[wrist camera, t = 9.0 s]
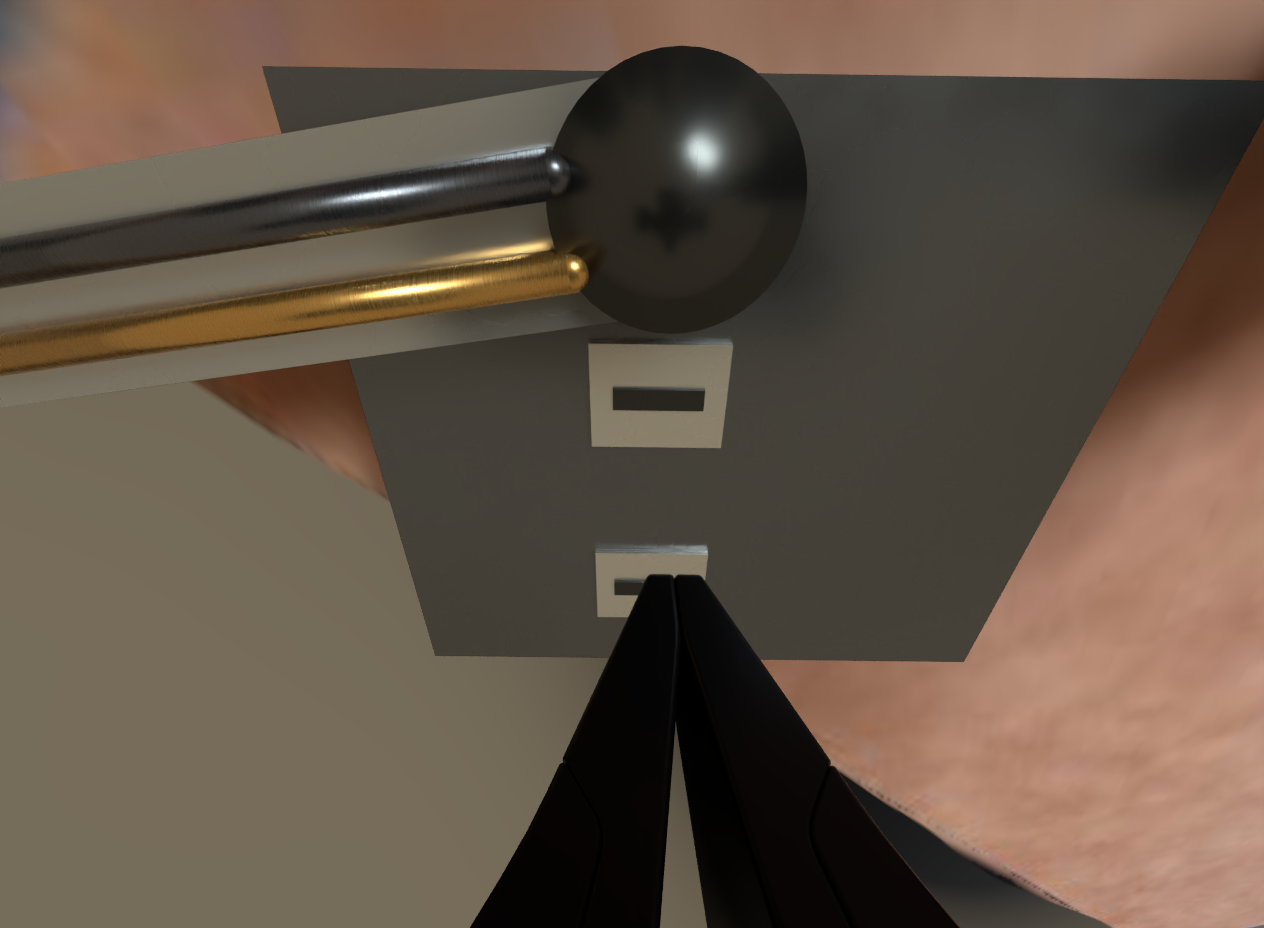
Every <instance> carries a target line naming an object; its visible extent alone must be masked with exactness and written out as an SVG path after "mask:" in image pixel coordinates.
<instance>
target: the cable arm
mask: <svg viewBox="0 0 1264 928" xmlns="http://www.w3.org/2000/svg"><path fill="white" fill-rule="evenodd" d="M806 198H807V167H806V161H805V154H804V149H803V145H802V142H801V139H800V135H799V132H798V129H797V127H796V125H795V123H794V120H793V118H792V116H791V113H790V112H789V110H788V109H787V107H786V105H785V104H784V102H783V101H782V99H781V97H780V96H779V95H778V94H777V93H776V91H775V90H774V89H773V88H772V87H771V85H770V84H769V83H768V82H767V81H766V80H765V79H764V78H762V77H761V76H760V75H759V74H758V73H757V72H756V71H754V70H753V69H752V68H750V67H749V66H747V65H745V64H744V63H742V62H741V61H739V60H737V59H735V58H733V57H731V56H728V55H726V54H723V53H721V52H718V51H714V50H710V49H706V48H702V47H691V46H673V47H663V48H658V49H654V50H650V51H647V52H643V53H640V54H638V55H636V56H633V57H631V58H629V59H627V60H624V61H623V62H621V63H619V64H618V65H616V66H615V67H613V68H612V69H610V70H608V71H607V72H606V73H604V74H603V75H602V76H601V77H599V78H594V79H588V80H582V81H577V82H571V83H566V84H560V85H554V86H549V87H543V88H537V89H532V90H526V91H520V92H515V93H509V94H504V95H498V96H492V97H487V98H481V99H475V100H470V101H464V102H458V103H453V104H447V105H442V106H436V107H430V108H425V109H419V110H413V111H408V112H402V113H396V114H391V115H385V116H380V117H374V118H368V119H363V120H357V121H351V122H346V123H340V124H334V125H329V126H323V127H317V128H312V129H306V130H301V131H295V132H289V133H284V134H278V135H272V136H267V137H261V138H255V139H250V140H244V141H239V142H233V143H227V144H222V145H216V146H210V147H205V148H199V149H193V150H188V151H182V152H177V153H171V154H165V155H160V156H154V157H148V158H143V159H137V160H131V161H126V162H120V163H115V164H109V165H103V166H98V167H92V168H86V169H81V170H75V171H69V172H64V173H58V174H53V175H47V176H41V177H36V178H30V179H24V180H19V181H13V182H7V183H2V184H0V408H1V407H9V406H17V405H23V404H31V403H37V402H45V401H51V400H60V399H66V398H74V397H81V396H88V395H96V394H103V393H110V392H117V391H124V390H131V389H139V388H145V387H153V386H160V385H167V384H174V383H182V382H189V381H196V380H203V379H210V378H218V377H225V376H232V375H239V374H246V373H253V372H261V371H268V370H275V369H282V368H289V367H297V366H304V365H311V364H318V363H325V362H332V361H340V360H347V359H354V358H361V357H368V356H376V355H383V354H390V353H397V352H404V351H411V350H419V349H426V348H433V347H440V346H447V345H455V344H462V343H469V342H476V341H483V340H490V339H498V338H505V337H512V336H519V335H526V334H534V333H541V332H548V331H555V330H562V329H569V328H577V327H584V326H591V325H598V324H605V323H612V322H621V323H623V324H625V325H627V326H630V327H633V328H636V329H640V330H643V331H648V332H654V333H665V334H677V333H688V332H693V331H698V330H703V329H706V328H709V327H712V326H715V325H717V324H720V323H722V322H724V321H726V320H728V319H730V318H732V317H733V316H735V315H737V314H738V313H740V312H741V311H743V310H745V309H746V308H747V307H748V306H750V305H751V304H752V303H753V302H754V301H756V300H757V299H758V298H759V297H760V296H761V295H762V294H763V293H764V292H765V291H766V290H767V289H768V288H769V287H770V285H771V284H772V283H773V281H774V280H775V279H776V278H777V276H778V275H779V274H780V272H781V270H782V269H783V267H784V266H785V264H786V262H787V261H788V259H789V257H790V255H791V253H792V250H793V248H794V246H795V244H796V241H797V238H798V235H799V232H800V229H801V226H802V222H803V218H804V213H805V208H806Z"/></svg>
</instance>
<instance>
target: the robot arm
mask: <svg viewBox="0 0 1264 928" xmlns="http://www.w3.org/2000/svg"><path fill="white" fill-rule="evenodd" d="M675 722H676V727H677V734H678V741H679V747H680V754H681V760H682V767H683V773H684V779H685V786H686V792H687V799H688V805H689V812H690V819H691V825H692V831H693V838H694V845H695V851H696V858H697V864H698V871H699V877H700V884H701V890H702V897H703V903H704V909H705V916H706V923H707V928H960V927H959V926H958V924H957V923H956V922H955V921H954V920H953V919H952V917H951V916H950V915H949V914H948V913H947V911H946V910H945V909H944V908H943V907H942V905H941V904H940V903H939V902H938V901H937V899H936V898H935V897H934V896H933V895H932V893H931V892H930V891H929V890H928V889H927V887H926V886H925V885H924V884H923V883H922V882H921V880H920V879H919V878H918V876H917V875H916V874H915V873H914V872H913V870H912V869H911V868H910V867H909V865H908V864H907V863H906V862H905V860H903V858H902V857H901V855H900V854H899V853H898V852H897V851H896V849H895V848H894V847H893V846H892V844H891V843H890V842H889V841H888V839H887V838H886V837H885V836H884V834H883V833H882V832H881V830H880V829H879V828H878V826H877V825H876V823H875V822H874V821H873V819H872V818H871V817H870V815H869V814H868V813H867V811H866V810H865V808H864V807H863V806H862V804H861V803H860V802H859V800H858V799H857V798H856V796H855V795H854V794H853V792H852V791H851V789H850V788H849V786H848V785H847V783H846V782H845V780H844V779H843V778H842V776H841V775H840V773H839V772H838V770H837V769H836V768H835V767H834V766H830V764H831V762H830V759H829V758H828V756H827V755H826V754H825V752H824V751H823V749H822V748H821V746H820V745H819V744H818V742H817V741H816V739H815V738H814V736H813V735H812V733H811V732H810V731H809V729H808V728H807V726H806V725H805V723H804V722H803V721H802V719H801V718H800V716H799V715H798V713H797V712H796V711H795V709H794V708H793V706H792V705H791V703H790V702H789V700H788V699H787V698H786V696H785V695H784V693H783V692H782V690H781V689H780V688H779V686H778V685H777V683H776V682H775V680H774V679H773V678H772V676H771V675H770V673H769V672H768V670H767V669H766V667H765V666H764V665H763V663H762V662H761V660H760V659H759V657H758V656H757V655H756V653H755V652H754V650H753V649H752V647H751V646H750V645H749V643H748V642H747V640H746V639H745V637H744V636H743V635H742V633H741V632H740V630H739V629H738V627H737V626H736V624H735V623H734V622H733V620H732V619H731V617H730V616H729V614H728V613H727V612H726V610H725V609H724V607H723V606H722V604H721V603H720V602H719V600H718V599H717V597H716V596H715V594H714V593H713V591H712V590H711V589H710V587H709V586H708V584H707V583H706V581H705V580H704V579H703V577H702V576H700V575H694V574H678V575H676V576H675V578H674V577H673V575H671V574H650V575H648V576H647V578H646V580H645V582H644V584H643V586H642V588H641V590H640V593H639V595H638V597H637V599H636V601H635V603H634V606H633V608H632V610H631V612H630V614H629V616H628V618H627V621H626V623H625V625H624V627H623V629H622V631H621V634H620V636H619V638H618V640H617V642H616V644H615V647H614V649H613V651H612V653H611V655H610V657H609V660H608V662H607V664H606V666H605V668H604V670H603V672H602V675H601V677H600V679H599V681H598V683H597V685H596V688H595V690H594V692H593V694H592V696H591V698H590V701H589V703H588V705H587V707H586V709H585V712H584V713H583V716H582V718H581V720H580V722H579V724H578V726H577V729H576V731H575V733H574V735H573V737H572V739H571V741H570V744H569V746H568V748H567V750H566V752H565V755H564V757H563V763H561V764H560V765H559V767H558V769H557V771H556V773H555V775H554V778H553V779H552V782H551V784H550V786H549V788H548V790H547V792H546V794H545V796H544V798H543V800H542V802H541V804H540V806H539V808H538V810H537V812H536V814H535V816H534V818H533V820H532V822H531V824H530V826H529V828H528V830H527V832H526V834H525V835H524V837H523V839H522V841H521V842H520V844H519V846H518V848H517V850H516V851H515V853H514V855H513V857H512V858H511V860H510V862H509V864H508V865H507V867H506V869H505V871H504V872H503V874H502V876H501V878H500V879H499V881H498V882H497V884H496V886H495V887H494V889H493V891H492V892H491V894H490V896H489V897H488V899H487V901H486V902H485V904H484V905H483V907H482V909H481V910H480V912H479V914H478V916H477V917H476V918H475V920H474V922H473V924H472V925H471V927H470V928H660V919H661V905H662V892H663V879H664V866H665V853H666V839H667V826H668V814H669V801H670V788H671V775H672V762H673V749H674V735H675Z"/></svg>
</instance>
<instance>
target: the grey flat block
mask: <svg viewBox="0 0 1264 928" xmlns="http://www.w3.org/2000/svg"><path fill="white" fill-rule="evenodd" d="M262 68H263V71H264V75H265V78H266V82H267V85H268V88H269V92H270V95H271V99H272V102H273V105H274V109H275V112H276V116H277V119H278V122H279V126H280V129H281V133H282V134H284V133H289V132H295V131H301V130H306V129H312V128H317V127H323V126H329V125H334V124H340V123H346V122H351V121H357V120H363V119H368V118H374V117H380V116H385V115H391V114H396V113H402V112H408V111H413V110H419V109H425V108H430V107H436V106H442V105H447V104H453V103H458V102H464V101H470V100H475V99H481V98H487V97H492V96H498V95H504V94H509V93H515V92H520V91H526V90H532V89H537V88H543V87H549V86H554V85H560V84H566V83H571V82H577V81H582V80H588V79H594V78H599V77H601V76H602V75H603V74H604V73H606V72H607V71H553V70H483V69H413V68H343V67H273V66H262ZM758 74H759V75H760V76H761V77H762V78H764V79H765V80H766V81H767V82H768V83H769V84H770V85H771V87H772V88H773V89H774V90H775V91H776V93H777V94H778V95H779V96H780V97H781V99H782V101H783V102H784V104H785V105H786V107H787V109H788V110H789V112H790V113H791V116H792V118H793V120H794V123H795V125H796V127H797V129H798V132H799V135H800V139H801V142H802V145H803V149H804V154H805V161H806V167H807V198H806V208H805V213H804V218H803V222H802V226H801V229H800V232H799V235H798V238H797V241H796V244H795V246H794V248H793V250H792V253H791V255H790V257H789V259H788V261H787V262H786V264H785V266H784V267H783V269H782V270H781V272H780V274H779V275H778V276H777V278H776V279H775V280H774V281H773V283H772V284H771V285H770V287H769V288H768V289H767V290H766V291H765V292H764V293H763V294H762V295H761V296H760V297H759V298H758V299H757V300H756V301H754V302H753V303H752V304H751V305H750V306H748V307H747V308H746V309H745V310H743V311H741V312H740V313H738V314H737V315H735V316H733V317H732V318H730V319H728V320H726V321H724V322H722V323H720V324H717V325H715V326H712V327H709V328H706V329H703V330H698V331H693V332H688V333H677V334H665V333H654V332H648V331H643V330H640V329H636V328H633V327H630V326H627V325H625V324H623V323H621V322H612V323H605V324H598V325H591V326H584V327H577V328H569V329H562V330H555V331H548V332H541V333H534V334H526V335H519V336H512V337H505V338H498V339H490V340H483V341H476V342H469V343H462V344H455V345H447V346H440V347H433V348H426V349H419V350H411V351H404V352H397V353H390V354H383V355H376V356H368V357H361V358H354V359H348V360H349V364H350V367H351V371H352V374H353V377H354V381H355V384H356V388H357V391H358V394H359V398H360V401H361V405H362V408H363V411H364V415H365V418H366V422H367V425H368V428H369V432H370V435H371V439H372V442H373V445H374V449H375V452H376V456H377V459H378V462H379V466H380V469H381V473H382V476H383V479H384V483H385V486H386V490H387V493H388V496H389V500H390V503H391V507H392V510H393V513H394V517H395V520H396V523H397V527H398V530H399V533H400V537H401V541H402V544H403V547H404V550H405V554H406V557H407V561H408V564H409V568H410V571H411V575H412V578H413V581H414V585H415V588H416V592H417V595H418V598H419V601H420V605H421V609H422V612H423V615H424V619H425V622H426V626H427V629H428V632H429V636H430V639H431V642H432V646H433V649H434V653H435V656H511V657H512V656H513V657H594V658H599V657H600V658H609V657H610V655H611V653H612V651H613V649H614V647H615V644H616V642H617V640H618V638H619V636H620V634H621V631H622V629H623V627H624V625H625V623H626V621H627V618H628V616H629V614H630V612H631V610H632V608H633V606H634V603H635V601H636V599H637V597H638V595H639V593H640V590H641V588H642V586H643V584H644V582H645V580H646V578H647V576H648V575H650V574H671V575H673V577H674V578H675V576H676V575H678V574H694V575H700V576H702V577H703V579H704V580H705V581H706V583H707V584H708V586H709V587H710V589H711V590H712V591H713V593H714V594H715V596H716V597H717V599H718V600H719V602H720V603H721V604H722V606H723V607H724V609H725V610H726V612H727V613H728V614H729V616H730V617H731V619H732V620H733V622H734V623H735V624H736V626H737V627H738V629H739V630H740V632H741V633H742V635H743V636H744V637H745V639H746V640H747V642H748V643H749V645H750V646H751V647H752V649H753V650H754V652H755V653H756V655H757V656H758V657H759V659H763V660H848V661H933V662H964V661H965V659H966V657H967V655H968V653H969V651H970V650H971V648H972V646H973V644H974V642H975V641H976V639H977V637H978V635H979V633H980V632H981V630H982V628H983V626H984V624H985V622H986V621H987V619H988V617H989V615H990V613H991V612H992V610H993V608H994V606H995V604H996V603H997V601H998V599H999V597H1000V595H1001V593H1002V592H1003V590H1004V588H1005V586H1006V584H1007V583H1008V581H1009V579H1010V577H1011V575H1012V573H1013V572H1014V570H1015V568H1016V566H1017V564H1018V563H1019V561H1020V559H1021V557H1022V555H1023V554H1024V552H1025V550H1026V548H1027V546H1028V544H1029V543H1030V541H1031V539H1032V537H1033V535H1034V534H1035V532H1036V530H1037V528H1038V526H1039V525H1040V523H1041V521H1042V519H1043V517H1044V515H1045V514H1046V512H1047V510H1048V508H1049V506H1050V505H1051V503H1052V501H1053V499H1054V497H1055V495H1056V494H1057V492H1058V490H1059V488H1060V486H1061V485H1062V483H1063V481H1064V479H1065V477H1066V476H1067V474H1068V472H1069V470H1070V468H1071V466H1072V465H1073V463H1074V461H1075V459H1076V457H1077V456H1078V454H1079V452H1080V450H1081V448H1082V447H1083V445H1084V443H1085V441H1086V439H1087V437H1088V436H1089V434H1090V432H1091V430H1092V428H1093V427H1094V425H1095V423H1096V421H1097V419H1098V418H1099V416H1100V414H1101V412H1102V410H1103V408H1104V407H1105V405H1106V403H1107V401H1108V399H1109V398H1110V396H1111V394H1112V392H1113V390H1114V388H1115V387H1116V385H1117V383H1118V381H1119V379H1120V378H1121V376H1122V374H1123V372H1124V370H1125V369H1126V367H1127V365H1128V363H1129V361H1130V359H1131V358H1132V356H1133V354H1134V352H1135V350H1136V349H1137V347H1138V345H1139V343H1140V341H1141V340H1142V338H1143V336H1144V334H1145V332H1146V330H1147V329H1148V327H1149V325H1150V323H1151V321H1152V320H1153V318H1154V316H1155V314H1156V312H1157V310H1158V309H1159V307H1160V305H1161V303H1162V301H1163V300H1164V298H1165V296H1166V294H1167V292H1168V291H1169V289H1170V287H1171V285H1172V283H1173V281H1174V280H1175V278H1176V276H1177V274H1178V272H1179V271H1180V269H1181V267H1182V265H1183V263H1184V262H1185V260H1186V258H1187V256H1188V254H1189V252H1190V251H1191V249H1192V247H1193V245H1194V243H1195V242H1196V240H1197V238H1198V236H1199V234H1200V232H1201V231H1202V229H1203V227H1204V225H1205V223H1206V222H1207V220H1208V218H1209V216H1210V214H1211V213H1212V211H1213V209H1214V207H1215V205H1216V203H1217V202H1218V200H1219V198H1220V196H1221V194H1222V193H1223V191H1224V189H1225V187H1226V185H1227V184H1228V182H1229V180H1230V178H1231V176H1232V174H1233V173H1234V171H1235V169H1236V167H1237V165H1238V164H1239V162H1240V160H1241V158H1242V156H1243V155H1244V153H1245V151H1246V149H1247V147H1248V145H1249V144H1250V142H1251V140H1252V138H1253V136H1254V135H1255V133H1256V131H1257V129H1258V127H1259V125H1260V124H1261V122H1262V120H1263V118H1264V81H1251V80H1181V79H1112V78H1042V77H972V76H902V75H832V74H762V73H758Z"/></svg>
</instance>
